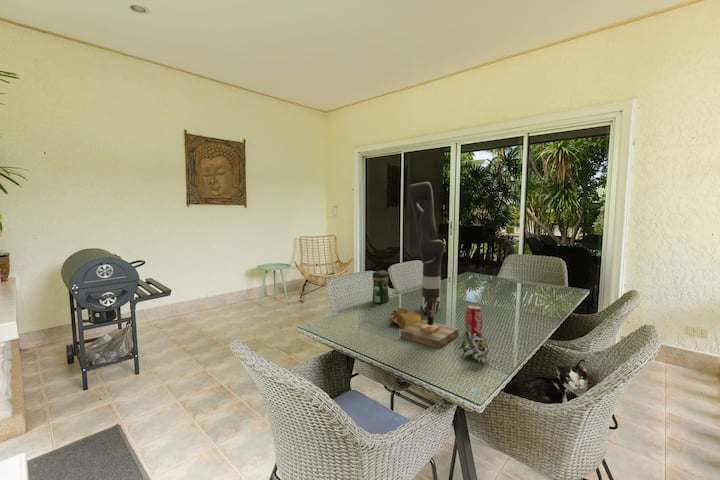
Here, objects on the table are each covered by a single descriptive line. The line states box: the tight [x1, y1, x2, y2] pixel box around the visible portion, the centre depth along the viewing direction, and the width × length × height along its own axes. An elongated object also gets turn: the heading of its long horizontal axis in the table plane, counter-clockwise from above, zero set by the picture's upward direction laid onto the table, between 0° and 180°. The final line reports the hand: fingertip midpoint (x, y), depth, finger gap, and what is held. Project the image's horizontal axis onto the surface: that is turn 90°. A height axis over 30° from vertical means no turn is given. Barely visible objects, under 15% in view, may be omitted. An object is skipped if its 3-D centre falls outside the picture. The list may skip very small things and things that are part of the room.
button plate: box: [400, 319, 459, 349], centre depth 148 cm, size 18×18×3 cm
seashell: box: [389, 307, 422, 330], centre depth 165 cm, size 17×8×15 cm
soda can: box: [464, 304, 483, 336], centre depth 151 cm, size 7×7×12 cm
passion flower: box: [458, 332, 489, 364], centre depth 126 cm, size 11×11×12 cm
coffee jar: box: [372, 269, 390, 304], centre depth 201 cm, size 10×8×19 cm
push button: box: [420, 324, 439, 333], centre depth 148 cm, size 6×6×4 cm
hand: (430, 324), depth 148 cm, fingers closed
